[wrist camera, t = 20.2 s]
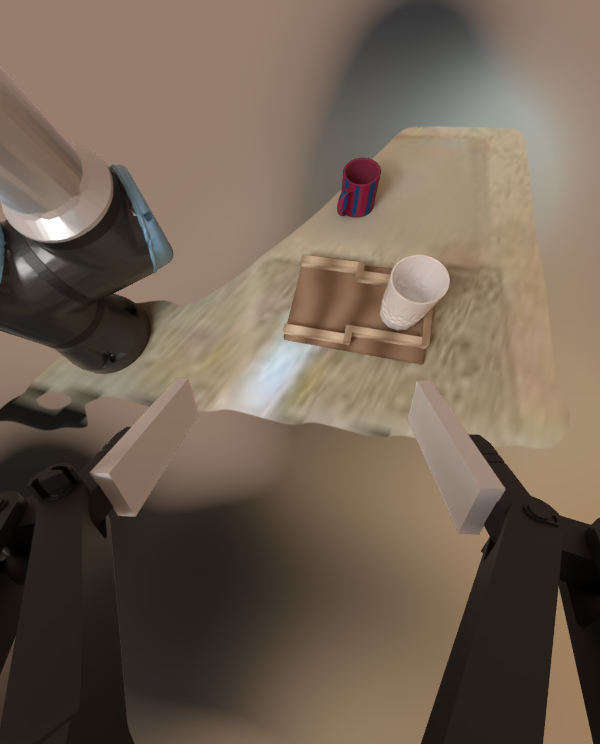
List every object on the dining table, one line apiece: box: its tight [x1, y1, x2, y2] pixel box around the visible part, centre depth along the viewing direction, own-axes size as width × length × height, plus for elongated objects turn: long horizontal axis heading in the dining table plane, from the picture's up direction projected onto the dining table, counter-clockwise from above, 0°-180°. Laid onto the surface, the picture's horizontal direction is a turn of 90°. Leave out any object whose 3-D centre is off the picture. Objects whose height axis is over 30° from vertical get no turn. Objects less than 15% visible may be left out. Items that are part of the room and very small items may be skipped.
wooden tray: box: [283, 255, 433, 364], centre depth 46 cm, size 24×17×3 cm
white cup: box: [380, 255, 450, 330], centre depth 40 cm, size 8×8×10 cm
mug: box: [337, 158, 381, 217], centre depth 49 cm, size 7×10×7 cm
